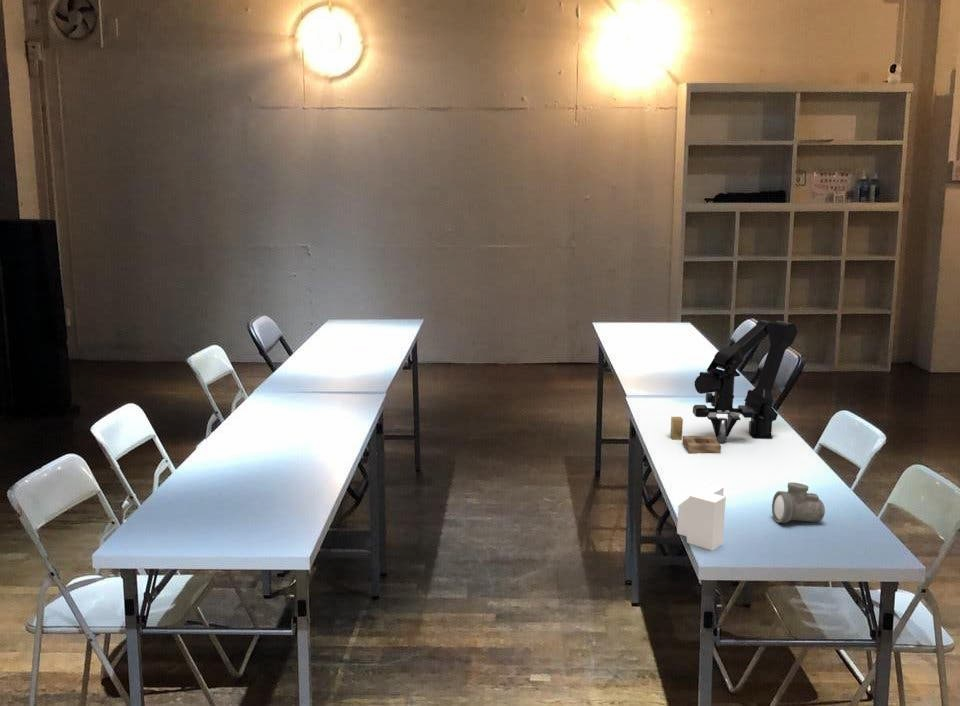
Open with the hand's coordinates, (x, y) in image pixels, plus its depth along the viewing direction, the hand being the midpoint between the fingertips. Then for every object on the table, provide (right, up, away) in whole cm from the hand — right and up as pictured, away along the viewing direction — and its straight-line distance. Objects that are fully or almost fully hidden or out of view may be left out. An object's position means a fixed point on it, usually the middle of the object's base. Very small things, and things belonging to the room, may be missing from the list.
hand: (721, 436), depth 303 cm
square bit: (-14, -1, +5) cm, 15 cm away
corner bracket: (-25, -18, -76) cm, 81 cm away
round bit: (0, -2, 0) cm, 2 cm away
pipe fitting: (+3, -16, -65) cm, 67 cm away
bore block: (-8, -3, -6) cm, 11 cm away
